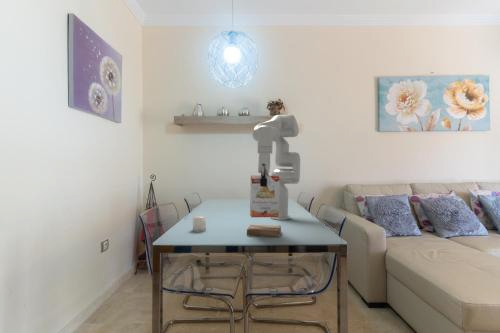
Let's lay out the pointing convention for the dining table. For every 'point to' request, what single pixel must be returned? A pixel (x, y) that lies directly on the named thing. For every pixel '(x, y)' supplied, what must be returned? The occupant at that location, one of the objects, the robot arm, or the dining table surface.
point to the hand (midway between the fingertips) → (264, 185)
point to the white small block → (199, 223)
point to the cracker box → (264, 197)
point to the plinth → (264, 230)
